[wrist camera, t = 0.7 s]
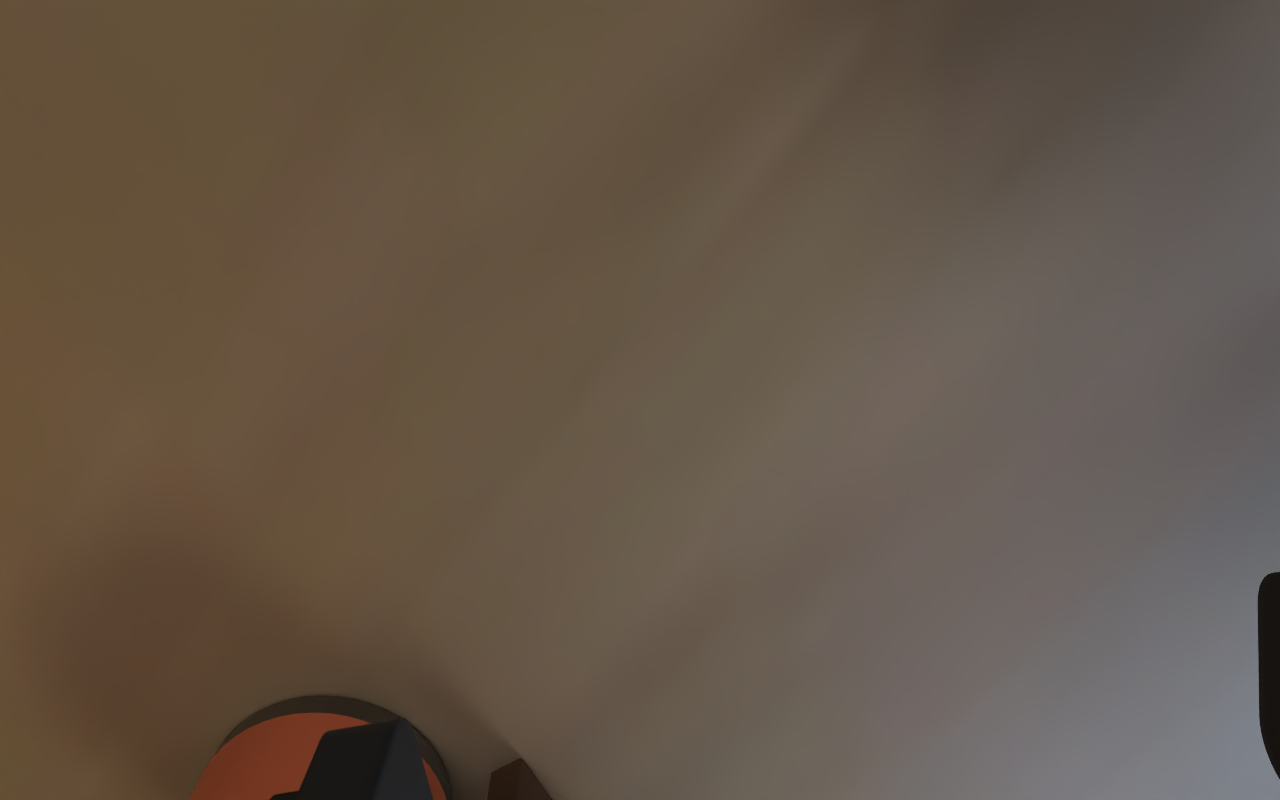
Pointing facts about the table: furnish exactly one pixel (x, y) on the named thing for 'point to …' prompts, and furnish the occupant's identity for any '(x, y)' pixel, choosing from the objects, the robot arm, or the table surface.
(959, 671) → the table surface
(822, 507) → the table surface
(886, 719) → the table surface
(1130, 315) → the table surface
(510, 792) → the dark brown tray
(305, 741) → the tin can
